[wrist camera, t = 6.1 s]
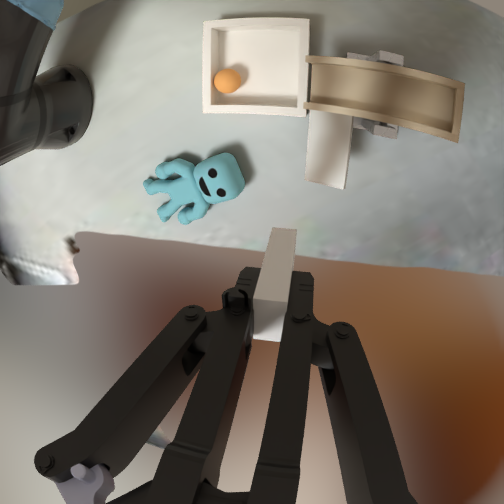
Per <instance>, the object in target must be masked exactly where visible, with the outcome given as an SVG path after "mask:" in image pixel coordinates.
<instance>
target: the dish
mask: <svg viewBox="0 0 504 504" xmlns="http://www.w3.org/2000/svg"><path fill="white" fill-rule="evenodd" d="M309 47H310V21H309V19H302V18H277V17H261V18H235V19H222V20H211V21H203V66H202V92H203V113H246V114H270V115H285V116H297V117H306V115H307V109H303V103H304V102H307V97H308V76H309V63H307V62H305V55H309ZM223 69H233V70H235V71H237V72H238V73H239V75H240V77H241V85H240V87H239V88H238V89H237V90H236V91H235V92H233V93H222V92H220V91H219V90H217V88H216V87H215V85H214V78H215V76H216V74H217V73H218V72H219V71H221V70H223Z"/></svg>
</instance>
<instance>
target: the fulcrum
mask: <svg viewBox="0 0 504 504" xmlns="http://www.w3.org/2000/svg"><path fill="white" fill-rule="evenodd" d="M347 58H350V59H358V60H366V61H373V62H379V63H385V64H391V65H396V66H401V67H403V61H404V56H403V55H399V54H395V53H390V52H386V51H382V50H379V51H378V52H376V53H374V54H373V55H371V56H367V55H362V54H356V53H350V52H347ZM353 128H358V129H364V130H368V131H369V132H371V133H372V134H373V135H378V136H383V137H388V138H393V139H397V131H398V125H393V124H389V123H385V122H380V121H376V120H371V119H366V118H361V117H355V116H354V121H353Z"/></svg>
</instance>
